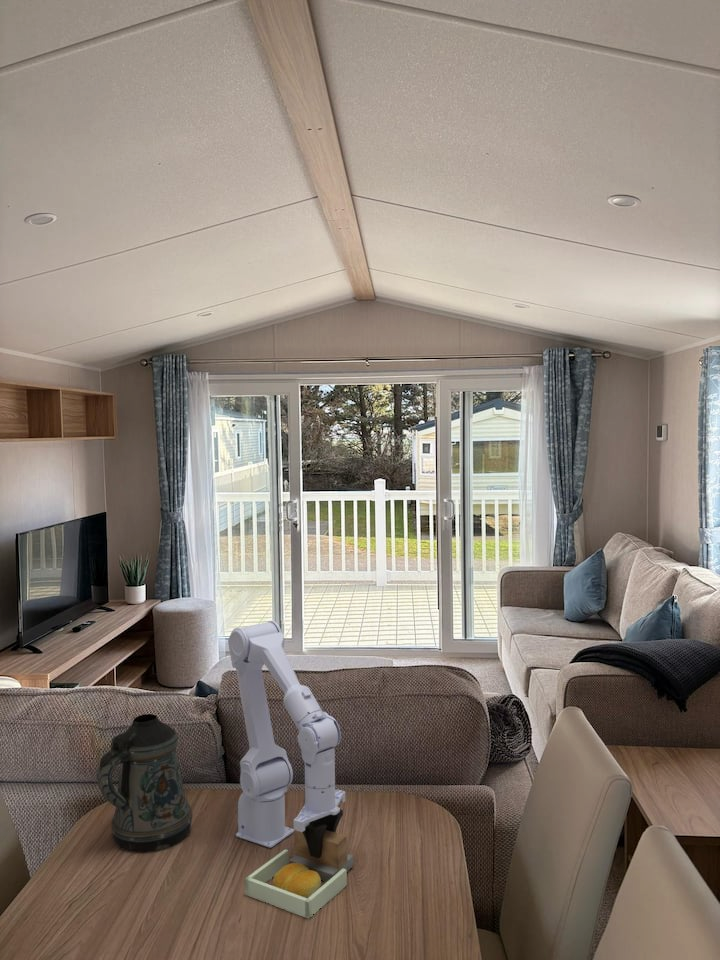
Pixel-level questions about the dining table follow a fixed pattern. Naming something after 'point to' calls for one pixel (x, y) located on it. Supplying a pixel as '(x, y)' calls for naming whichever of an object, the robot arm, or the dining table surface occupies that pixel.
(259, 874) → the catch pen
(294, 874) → the bread roll
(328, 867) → the scraper
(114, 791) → the beer stein
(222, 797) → the dining table surface
